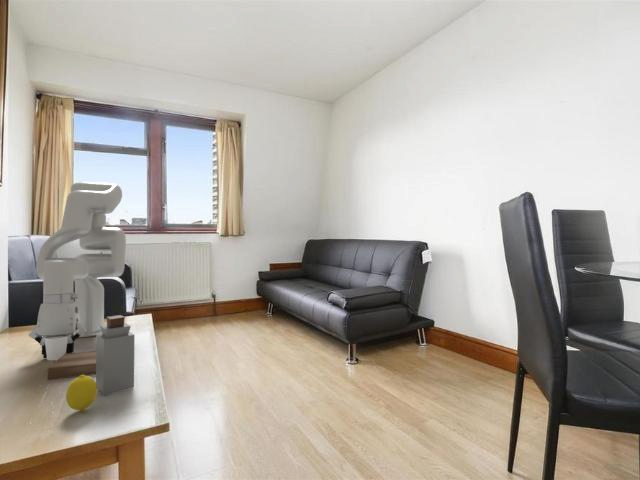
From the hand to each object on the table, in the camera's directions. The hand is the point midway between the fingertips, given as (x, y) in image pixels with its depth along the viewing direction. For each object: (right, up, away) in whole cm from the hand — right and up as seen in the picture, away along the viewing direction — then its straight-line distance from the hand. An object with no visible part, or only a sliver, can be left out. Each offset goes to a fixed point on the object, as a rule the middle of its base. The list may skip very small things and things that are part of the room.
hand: (58, 355), depth 105 cm
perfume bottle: (+31, -1, -21) cm, 37 cm away
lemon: (+31, -1, -32) cm, 45 cm away
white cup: (0, -1, 0) cm, 1 cm away
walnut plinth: (+14, -1, -9) cm, 16 cm away
